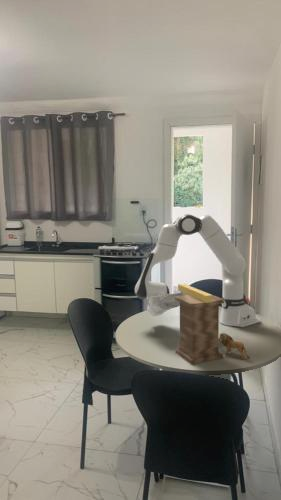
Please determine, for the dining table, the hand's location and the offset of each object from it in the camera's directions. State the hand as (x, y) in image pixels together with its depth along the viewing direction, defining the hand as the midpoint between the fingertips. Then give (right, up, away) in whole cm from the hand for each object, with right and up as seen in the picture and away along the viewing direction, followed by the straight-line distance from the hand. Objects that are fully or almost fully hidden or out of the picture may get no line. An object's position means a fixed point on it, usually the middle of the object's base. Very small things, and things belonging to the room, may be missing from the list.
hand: (174, 294), depth 191 cm
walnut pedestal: (+9, -25, -17) cm, 32 cm away
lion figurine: (+24, -25, -18) cm, 39 cm away
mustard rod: (+7, +1, -18) cm, 19 cm away
